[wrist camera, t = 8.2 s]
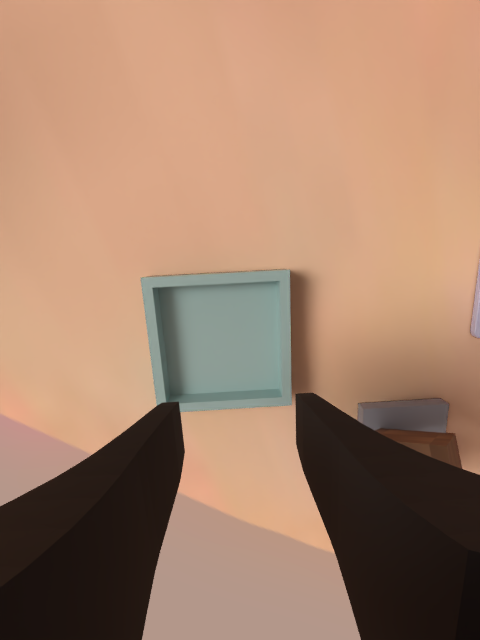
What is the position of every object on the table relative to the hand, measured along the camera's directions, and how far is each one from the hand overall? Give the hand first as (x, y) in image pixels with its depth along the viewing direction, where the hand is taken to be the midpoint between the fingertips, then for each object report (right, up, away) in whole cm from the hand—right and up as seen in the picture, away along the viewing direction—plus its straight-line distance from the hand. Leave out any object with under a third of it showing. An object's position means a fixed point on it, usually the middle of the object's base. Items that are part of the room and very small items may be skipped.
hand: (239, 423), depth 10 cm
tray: (-1, +2, +9) cm, 9 cm away
